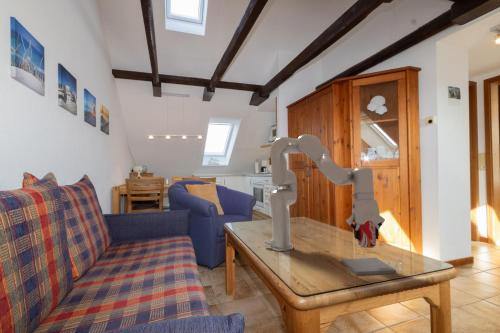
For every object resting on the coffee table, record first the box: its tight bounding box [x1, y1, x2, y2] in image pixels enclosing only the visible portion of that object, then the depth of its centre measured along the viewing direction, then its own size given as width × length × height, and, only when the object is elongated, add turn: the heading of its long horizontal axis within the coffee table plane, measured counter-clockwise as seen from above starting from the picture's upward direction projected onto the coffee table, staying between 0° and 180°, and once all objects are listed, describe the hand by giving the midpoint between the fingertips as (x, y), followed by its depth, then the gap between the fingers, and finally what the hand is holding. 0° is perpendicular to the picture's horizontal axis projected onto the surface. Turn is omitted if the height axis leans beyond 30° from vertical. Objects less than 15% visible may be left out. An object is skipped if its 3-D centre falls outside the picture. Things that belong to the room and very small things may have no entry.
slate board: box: [341, 257, 397, 276], centre depth 103 cm, size 16×14×1 cm
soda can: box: [357, 219, 377, 249], centre depth 103 cm, size 7×7×12 cm
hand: (366, 238), depth 103 cm, fingers closed on soda can, 7 cm apart
